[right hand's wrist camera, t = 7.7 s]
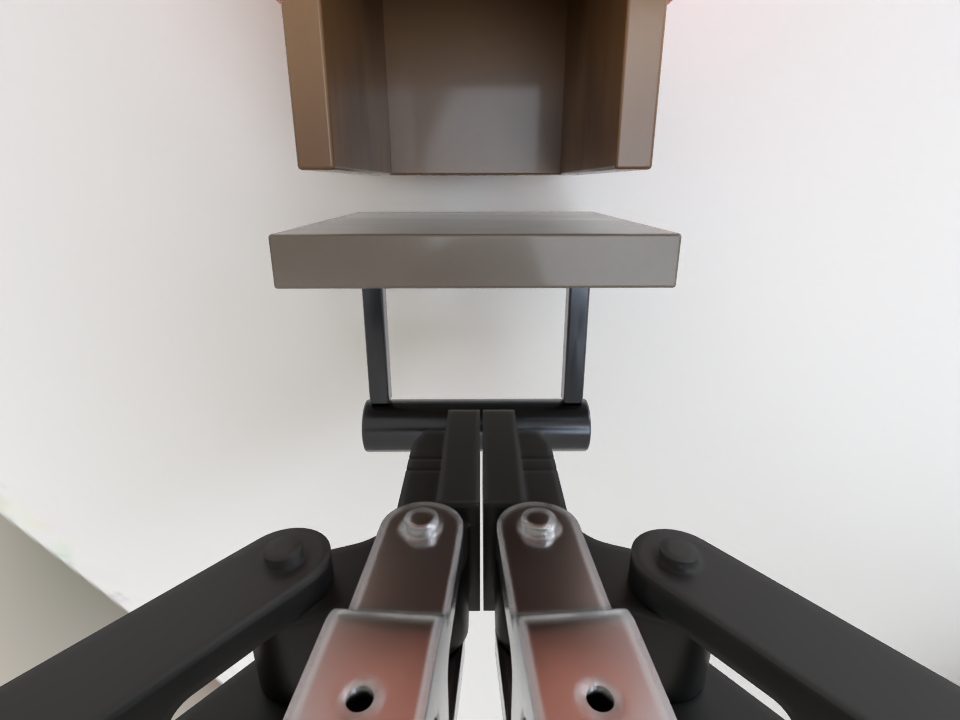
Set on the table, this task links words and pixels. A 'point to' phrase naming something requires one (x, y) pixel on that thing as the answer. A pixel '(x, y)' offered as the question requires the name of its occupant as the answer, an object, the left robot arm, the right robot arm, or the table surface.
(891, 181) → the table surface
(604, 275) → the drawer
